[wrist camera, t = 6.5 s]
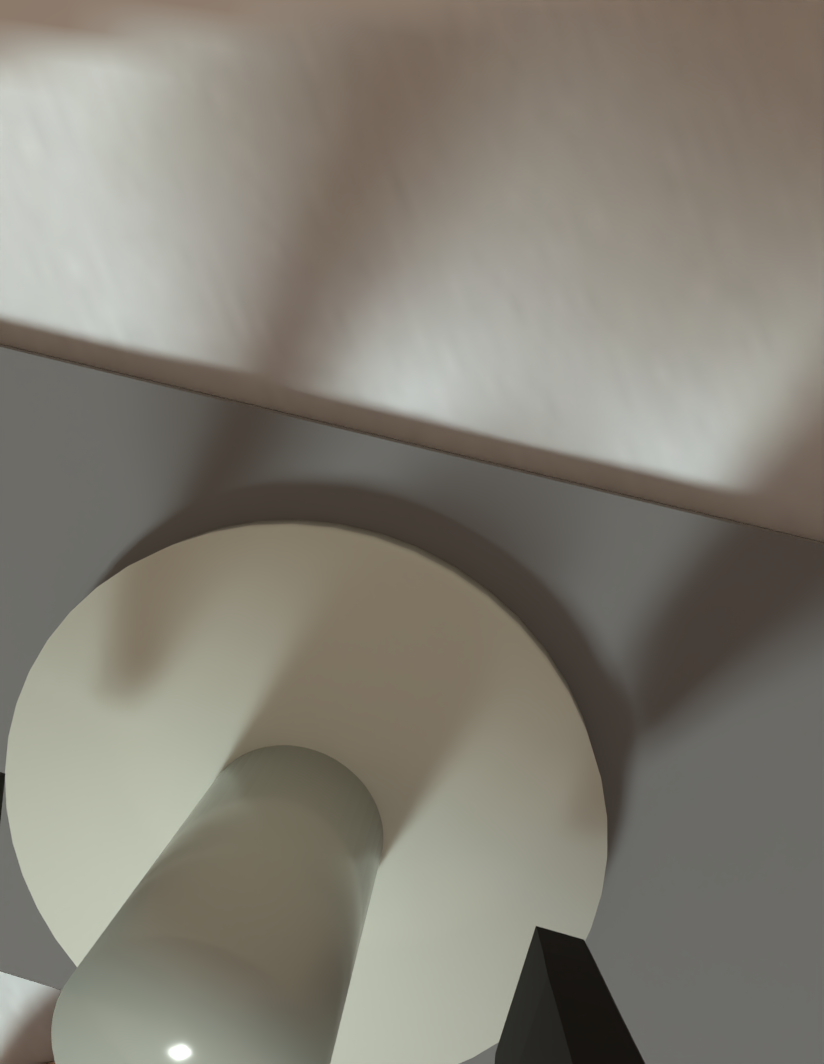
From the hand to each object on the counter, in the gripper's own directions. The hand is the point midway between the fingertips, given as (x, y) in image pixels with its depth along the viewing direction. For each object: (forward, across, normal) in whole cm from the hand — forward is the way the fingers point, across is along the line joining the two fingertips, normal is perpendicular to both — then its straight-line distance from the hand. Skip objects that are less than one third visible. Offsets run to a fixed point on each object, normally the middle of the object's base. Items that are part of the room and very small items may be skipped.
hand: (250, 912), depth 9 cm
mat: (+3, -1, 0) cm, 4 cm away
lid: (+3, 0, 0) cm, 3 cm away
